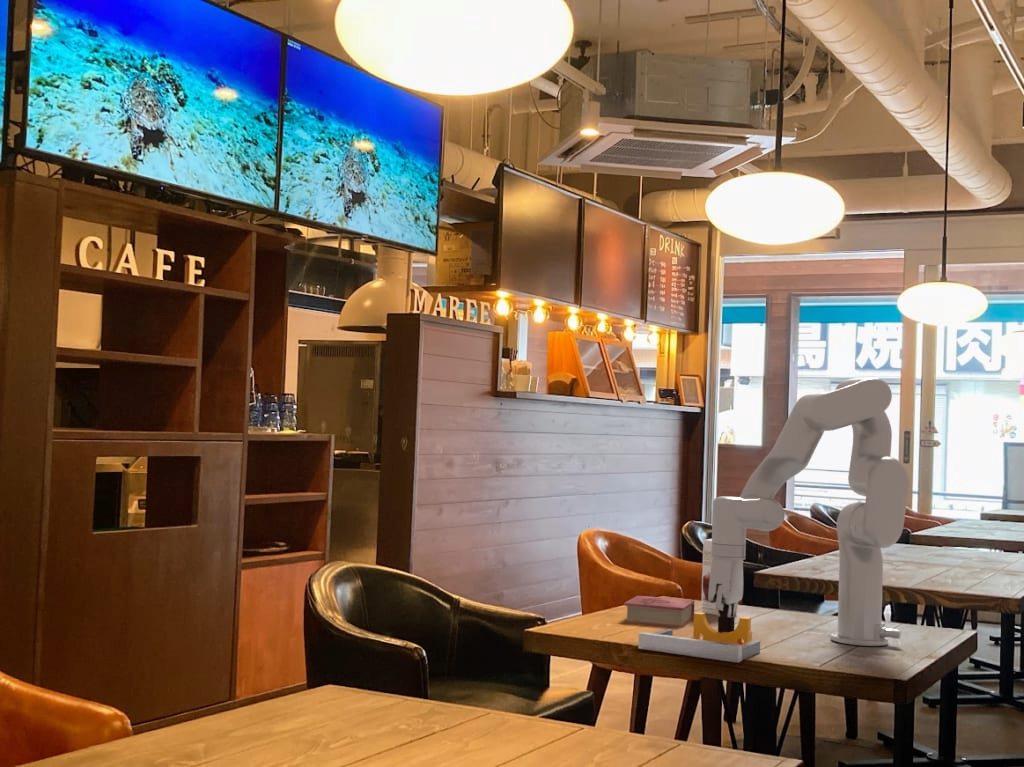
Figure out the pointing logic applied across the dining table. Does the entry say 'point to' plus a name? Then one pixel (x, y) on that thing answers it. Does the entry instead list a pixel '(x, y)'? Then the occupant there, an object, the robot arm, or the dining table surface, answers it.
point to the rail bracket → (697, 646)
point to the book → (660, 611)
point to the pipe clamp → (732, 637)
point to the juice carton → (708, 579)
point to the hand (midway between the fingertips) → (725, 634)
